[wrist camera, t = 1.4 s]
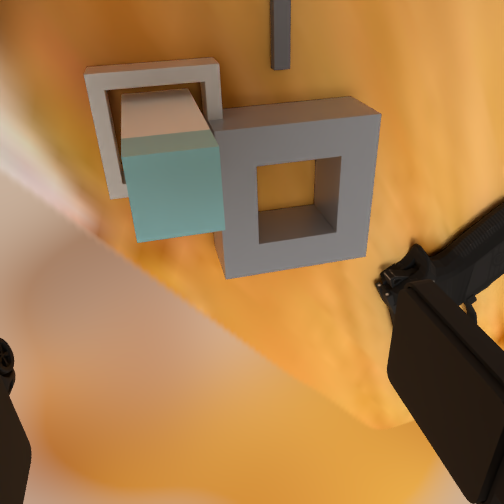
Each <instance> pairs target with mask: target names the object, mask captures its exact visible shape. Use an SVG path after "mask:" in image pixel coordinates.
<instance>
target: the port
mask: <svg viewBox="0 0 504 504" xmlns="http://www.w3.org/2000/svg"><path fill="white" fill-rule="evenodd" d="M222 113H223V119H218V120H208V125H209V128H210V130H211V132H212V134H213V136H214V138H215V140H216V141H217V143H218V145H219V151H220V164H221V178H222V191H223V205H224V218H225V230H223V231H216V232H214V242H215V248H216V251H217V254H218V257H219V260H220V263H221V266H222V269H223V272H224V275H225V278H226V279H232V278H238V277H244V276H250V275H256V274H262V273H268V272H274V271H281V270H287V269H293V268H299V267H305V266H311V265H317V264H323V263H330V262H336V261H342V260H348V259H354V258H360V257H366V249H367V240H368V231H369V222H370V213H371V204H372V195H373V186H374V177H375V167H376V158H377V149H378V140H379V131H380V122H381V113H379V112H377V111H376V110H374V109H372V108H370V107H369V106H367V105H365V104H364V103H362V102H360V101H358V100H357V99H355V98H353V97H351V96H348V97H338V98H328V99H318V100H307V101H297V102H287V103H277V104H267V105H256V106H246V107H236V108H226V109H222ZM314 159H316V163H315V189H314V204H312V205H305V206H298V207H290V208H283V209H276V210H269V211H262V212H258V198H257V166H264V165H272V164H281V163H289V162H297V161H305V160H314Z"/></svg>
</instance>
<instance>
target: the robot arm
mask: <svg viewBox="0 0 504 504" xmlns="http://www.w3.org/2000/svg"><path fill="white" fill-rule="evenodd" d="M387 374H388V378H389V380H390V382H391V384H392V386H393V387H394V389H395V390H396V392H397V393H398V395H399V396H400V398H401V400H402V401H403V403H404V404H405V406H406V407H407V409H408V410H409V412H410V413H411V415H412V416H413V418H414V419H415V421H416V423H417V424H418V426H419V427H420V429H421V430H422V432H423V433H424V435H425V436H426V438H427V439H428V441H429V442H430V444H431V446H432V447H433V449H434V450H435V452H436V453H437V455H438V456H439V457H440V459H441V461H442V462H443V464H444V465H445V467H446V468H447V470H448V471H449V473H450V475H451V476H452V478H453V479H454V481H455V482H456V484H457V485H458V487H459V488H460V490H461V492H462V493H463V495H464V496H465V497H466V499H467V500H468V501H469V502H470V503H472V504H475V503H476V504H504V351H503V350H502V349H501V348H500V347H499V346H498V345H497V344H496V343H495V342H494V341H493V340H492V339H491V338H490V337H489V336H488V335H487V334H486V333H485V332H484V331H483V330H482V329H481V328H480V327H479V326H478V325H477V324H476V323H475V322H474V321H473V320H472V319H471V318H470V317H469V316H468V315H467V314H466V313H465V312H464V311H463V310H462V309H461V308H460V307H459V306H458V305H457V304H456V303H455V302H454V301H453V300H452V299H451V298H450V297H449V296H448V295H447V294H446V293H445V292H444V291H443V290H442V289H441V288H440V287H439V286H438V285H437V284H436V283H435V282H434V281H432V280H431V279H425V280H419V281H414V282H408V283H406V284H405V286H404V289H402V290H400V291H399V293H398V298H397V305H396V312H395V318H394V325H393V332H392V338H391V345H390V351H389V358H388V365H387ZM30 464H31V446H30V443H29V440H28V438H27V436H26V434H25V431H24V429H23V427H22V424H21V422H20V420H19V417H18V415H17V413H16V411H15V409H14V406H13V404H12V401H11V399H10V397H9V395H8V392H7V390H6V388H5V385H4V383H3V381H2V378H1V376H0V504H23V500H24V495H25V490H26V485H27V480H28V474H29V469H30Z"/></svg>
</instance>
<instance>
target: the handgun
mask: <svg viewBox="0 0 504 504" xmlns="http://www.w3.org/2000/svg"><path fill="white" fill-rule="evenodd" d="M503 274H504V202H503V203H502V204H501V205H499V206H498V207H496V208H495V209H494V210H492V211H491V212H490V213H488V214H487V215H486V216H485V217H483V218H482V219H481V220H480V221H478V222H477V223H476V224H474V225H473V226H472V227H470V228H469V229H468V230H467V231H465V232H464V233H463V234H462V235H460V236H459V237H458V238H457V239H456V240H454V241H453V242H452V243H451V244H450V245H449V246H448V247H447V248H445V249H444V250H443V251H442V252H440V253H438V254H437V255H435V256H432V257H429V256H428V255H427V254H426V252H425V251H424V250H423V248H422V247H421V246H420V245H418V244H414V245H413V246H412V248H411V250H410V252H409V253H408V254H407V255H406V256H405V257H404V258H403V259H402V260H401V261H400V262H398V263H397V264H396V265H395V264H393V265H392V266H390V267H389V268H387V269H386V270H384V271H383V272H381V279H382V283H383V284H381V283H380V282H378V283H376V284H375V285H376V288H377V290H378V292H379V294H380V296H381V298H382V300H383V301H384V302H385V304H386V305H387V306H388V307H389V311H390V315H391V319H392V323H393V325H394V318H395V312H396V305H397V298H398V293H399V291H400V290H402V289H404V286H405V284H406V283H408V282H414V281H419V280H425V279H431V280H432V281H434V282H435V283H436V284H437V285H438V286H439V287H440V288H441V289H442V290H443V291H444V292H445V293H446V294H447V295H448V296H449V297H450V298H451V299H452V300H453V301H454V302H455V303H456V304H457V305H458V306H459V305H461V304H462V303H463V302H464V304H465V306H466V310H467V315H468V316H469V317H470V318H471V319H472V320H473V321H474V322H475V323H476V324H477V315H476V312H475V310H474V309H473V307H472V305H471V304H473V303H474V302H475V301H477V299H476V297H475V295H476V294H478V293H479V292H481V291H482V290H484V289H486V288H487V287H488V286H489V285H490V284H491V283H492V282H494V281H495V280H496V279H498V278H499V277H500V276H501V275H503Z"/></svg>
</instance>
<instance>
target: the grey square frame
mask: <svg viewBox="0 0 504 504" xmlns="http://www.w3.org/2000/svg"><path fill="white" fill-rule="evenodd" d="M84 78H85V83H86V88H87V92H88V97H89V102H90V107H91V111H92V116H93V121H94V125H95V130H96V135H97V139H98V144H99V149H100V153H101V158H102V163H103V167H104V172H105V177H106V182H107V186H108V191H109V196H110V199H117V198H125V197H129V196H128V191H127V185H126V180H125V175H124V171H122V166H121V161H120V156H119V151H118V145H117V140H116V135H115V130H114V124H113V119H112V114H111V109H110V104H109V98H108V93H107V90H113V89H124V88H136V87H147V86H159V85H170V84H182V83H193V82H200V85H201V96H202V108H203V117H204V119H205V121H206V123H207V125H208V120H218V119H223V113H222V98H221V83H220V68H219V63H218V62H217V61H216V60H215V59H214V58H213V57H208V58H195V59H182V60H169V61H157V62H144V63H131V64H118V65H105V66H93V67H86V69H85V72H84ZM208 126H209V125H208Z"/></svg>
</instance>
